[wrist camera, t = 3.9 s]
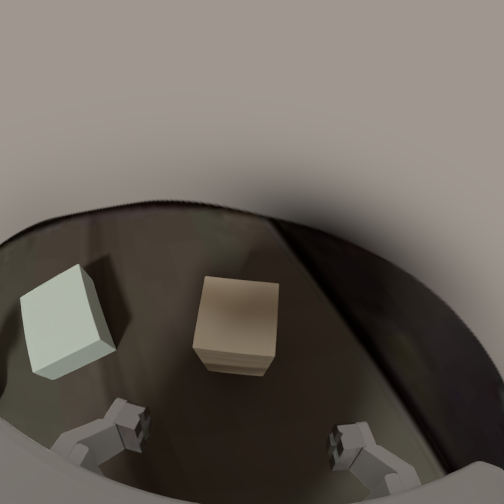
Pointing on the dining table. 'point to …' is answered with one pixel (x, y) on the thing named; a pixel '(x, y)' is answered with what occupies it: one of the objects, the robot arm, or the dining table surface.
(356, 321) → the dining table surface
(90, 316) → the sage block
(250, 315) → the birch block
